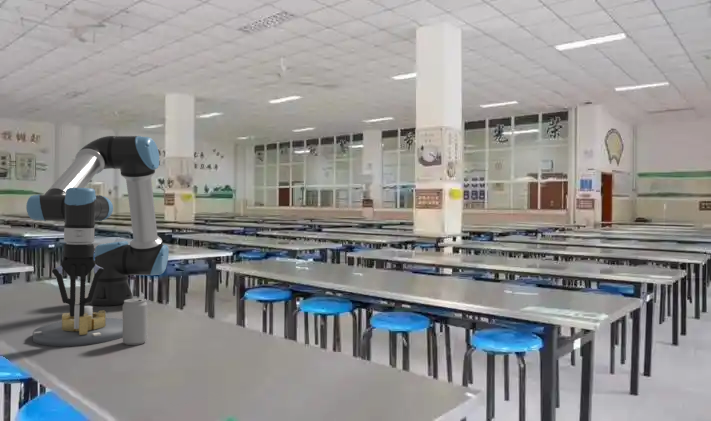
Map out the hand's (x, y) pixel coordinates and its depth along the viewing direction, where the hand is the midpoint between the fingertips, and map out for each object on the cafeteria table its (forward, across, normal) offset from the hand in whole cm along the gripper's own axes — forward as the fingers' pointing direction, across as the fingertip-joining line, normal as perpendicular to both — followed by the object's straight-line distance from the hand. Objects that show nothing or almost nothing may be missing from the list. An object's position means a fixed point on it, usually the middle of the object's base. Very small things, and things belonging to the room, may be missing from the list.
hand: (76, 327), depth 150 cm
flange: (+4, +2, +9) cm, 10 cm away
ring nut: (+2, +2, +6) cm, 7 cm away
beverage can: (+4, +15, -7) cm, 17 cm away
